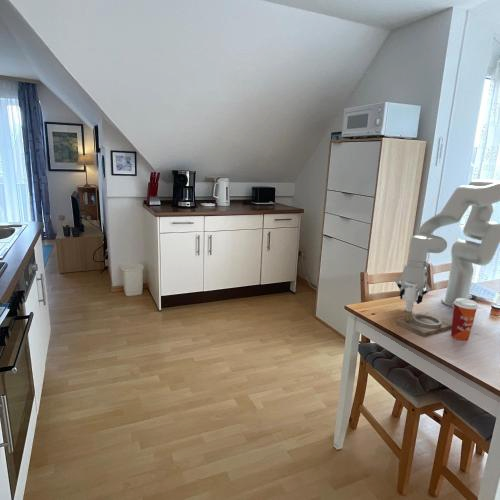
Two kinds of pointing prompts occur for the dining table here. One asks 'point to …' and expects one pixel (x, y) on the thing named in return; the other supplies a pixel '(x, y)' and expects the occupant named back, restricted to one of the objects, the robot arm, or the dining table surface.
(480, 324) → the dining table surface
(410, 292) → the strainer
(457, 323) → the coffee cup
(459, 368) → the dining table surface
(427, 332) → the locating board
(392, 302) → the dining table surface
